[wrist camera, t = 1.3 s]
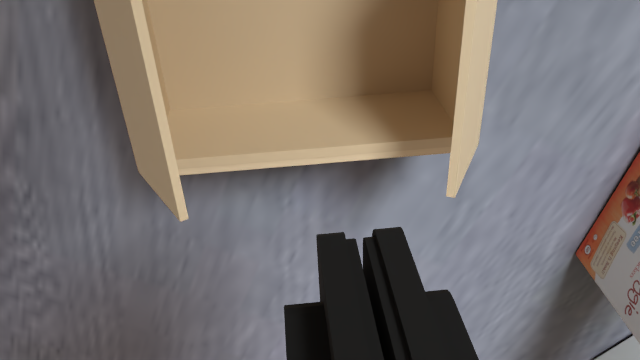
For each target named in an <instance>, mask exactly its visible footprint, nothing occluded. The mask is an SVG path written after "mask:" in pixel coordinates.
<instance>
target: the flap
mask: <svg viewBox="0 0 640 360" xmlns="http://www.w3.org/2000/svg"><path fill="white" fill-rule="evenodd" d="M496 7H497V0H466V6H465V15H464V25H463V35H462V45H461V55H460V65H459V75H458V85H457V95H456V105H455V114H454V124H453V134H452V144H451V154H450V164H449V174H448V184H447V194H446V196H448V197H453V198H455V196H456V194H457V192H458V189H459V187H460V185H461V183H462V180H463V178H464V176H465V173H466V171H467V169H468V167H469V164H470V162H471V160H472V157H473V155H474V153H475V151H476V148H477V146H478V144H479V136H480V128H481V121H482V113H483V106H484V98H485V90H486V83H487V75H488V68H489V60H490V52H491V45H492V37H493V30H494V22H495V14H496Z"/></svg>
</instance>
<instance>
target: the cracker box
mask: <svg viewBox="0 0 640 360" xmlns="http://www.w3.org/2000/svg"><path fill="white" fill-rule="evenodd" d="M576 255H577V257H578V258H579V260H580V261H581V262H582V264H583V265H584V267H585V268H586V269H587V271H588V272H589V274H590V275H591V277H592V278H593V279H594V281H595V282H596V284H597V285H598V286H599V288H600V289H601V291H602V292H603V293H604V295H605V296H606V297H607V299H608V300H609V302H610V303H611V304H612V306H613V307H614V309H615V310H616V311H617V313H618V314H619V316H620V317H621V318H622V320H623V321H624V323H625V324H626V326H627V327H628V328H629V330H630V331H631V333H632V334H633V335H634V337H635V338H636V340H637V341H638V342H639V344H640V152H639V153H638V155H637V157H636V158H635V160H634V161H633V163H632V165H631V166H630V168H629V169H628V171H627V172H626V174H625V176H624V177H623V179H622V181H621V182H620V183H619V185H618V187H617V188H616V190H615V192H614V193H613V195H612V196H611V198H610V200H609V201H608V203H607V204H606V206H605V208H604V209H603V211H602V212H601V214H600V215H599V217H598V219H597V220H596V222H595V224H594V225H593V227H592V228H591V230H590V231H589V233H588V234H587V236H586V238H585V239H584V241H583V242H582V244H581V245H580V247H579V249H578V250H577V252H576Z"/></svg>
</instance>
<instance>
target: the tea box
mask: <svg viewBox="0 0 640 360" xmlns="http://www.w3.org/2000/svg"><path fill="white" fill-rule="evenodd" d="M594 360H640V344H639V342H638V341H637V340H636V338H635V337H634V335H633V336H631V337H630V338H628V339H626V340H625V341H623V342H622V343H620V344H618V345H617V346H615V347H613V348H612V349H610V350H609V351H607V352H605V353H604V354H602V355H600V356H599V357H597V358H596V359H594Z"/></svg>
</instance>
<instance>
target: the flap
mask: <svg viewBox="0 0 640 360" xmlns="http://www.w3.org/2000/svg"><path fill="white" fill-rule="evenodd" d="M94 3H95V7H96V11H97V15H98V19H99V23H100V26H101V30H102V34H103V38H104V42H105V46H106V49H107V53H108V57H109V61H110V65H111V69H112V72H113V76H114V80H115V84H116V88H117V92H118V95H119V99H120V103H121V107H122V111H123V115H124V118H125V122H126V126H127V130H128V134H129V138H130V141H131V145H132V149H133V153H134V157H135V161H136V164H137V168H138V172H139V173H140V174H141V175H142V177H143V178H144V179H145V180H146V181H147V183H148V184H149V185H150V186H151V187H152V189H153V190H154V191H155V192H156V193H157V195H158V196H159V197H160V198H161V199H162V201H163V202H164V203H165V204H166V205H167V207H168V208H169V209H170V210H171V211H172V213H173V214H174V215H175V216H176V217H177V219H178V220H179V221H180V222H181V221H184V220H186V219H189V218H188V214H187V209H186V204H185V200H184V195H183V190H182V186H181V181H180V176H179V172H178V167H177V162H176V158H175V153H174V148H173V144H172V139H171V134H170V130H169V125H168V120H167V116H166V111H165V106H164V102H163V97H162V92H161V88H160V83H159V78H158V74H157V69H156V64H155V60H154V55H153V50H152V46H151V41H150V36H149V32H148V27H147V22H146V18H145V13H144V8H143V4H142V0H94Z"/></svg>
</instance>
